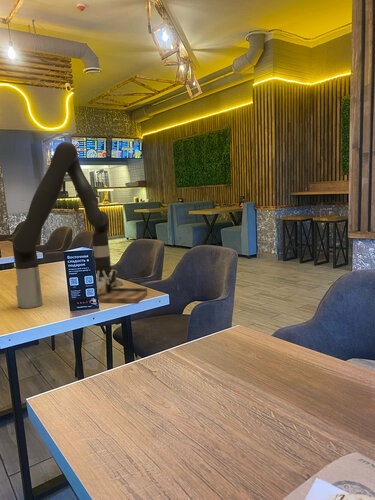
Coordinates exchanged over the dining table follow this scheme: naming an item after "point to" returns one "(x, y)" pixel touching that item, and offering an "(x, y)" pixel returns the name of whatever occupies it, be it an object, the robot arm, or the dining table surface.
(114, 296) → the walnut board
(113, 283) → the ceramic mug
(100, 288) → the marking gauge
